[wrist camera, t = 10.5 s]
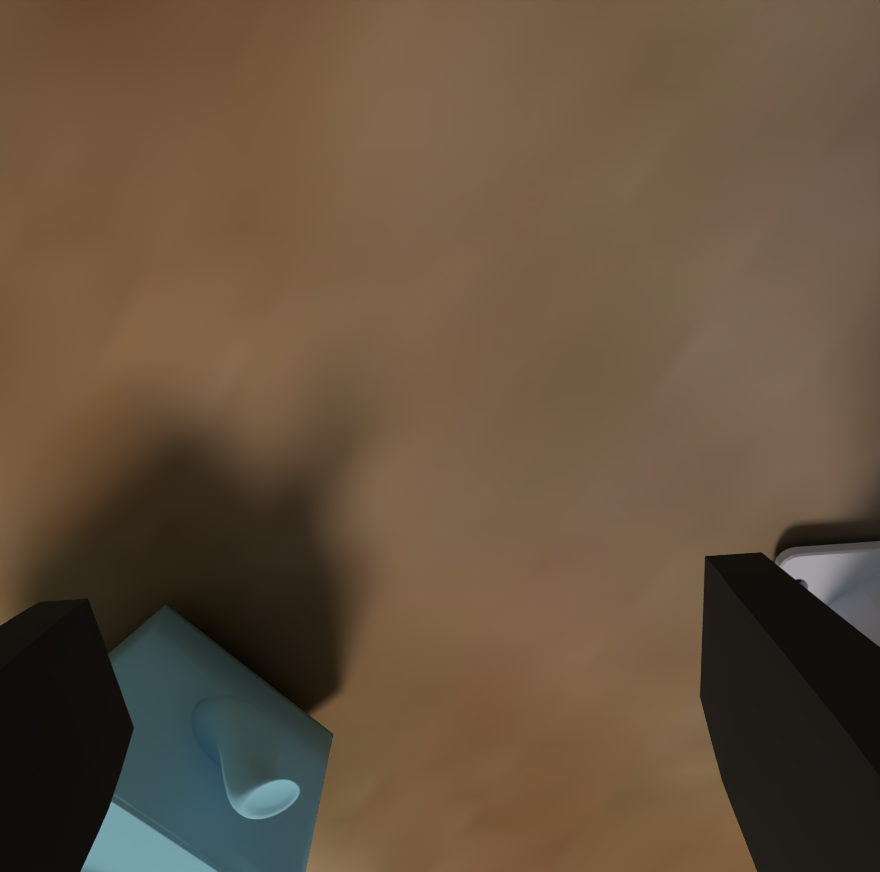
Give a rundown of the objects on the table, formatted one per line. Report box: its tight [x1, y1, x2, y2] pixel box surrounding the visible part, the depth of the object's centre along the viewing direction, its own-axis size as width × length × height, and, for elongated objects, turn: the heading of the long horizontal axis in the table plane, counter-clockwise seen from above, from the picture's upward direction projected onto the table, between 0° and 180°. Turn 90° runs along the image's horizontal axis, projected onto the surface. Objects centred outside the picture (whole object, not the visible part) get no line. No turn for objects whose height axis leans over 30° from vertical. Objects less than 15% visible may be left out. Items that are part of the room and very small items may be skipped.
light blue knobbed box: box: [81, 604, 333, 872], centre depth 21 cm, size 12×6×8 cm, turn 133°
